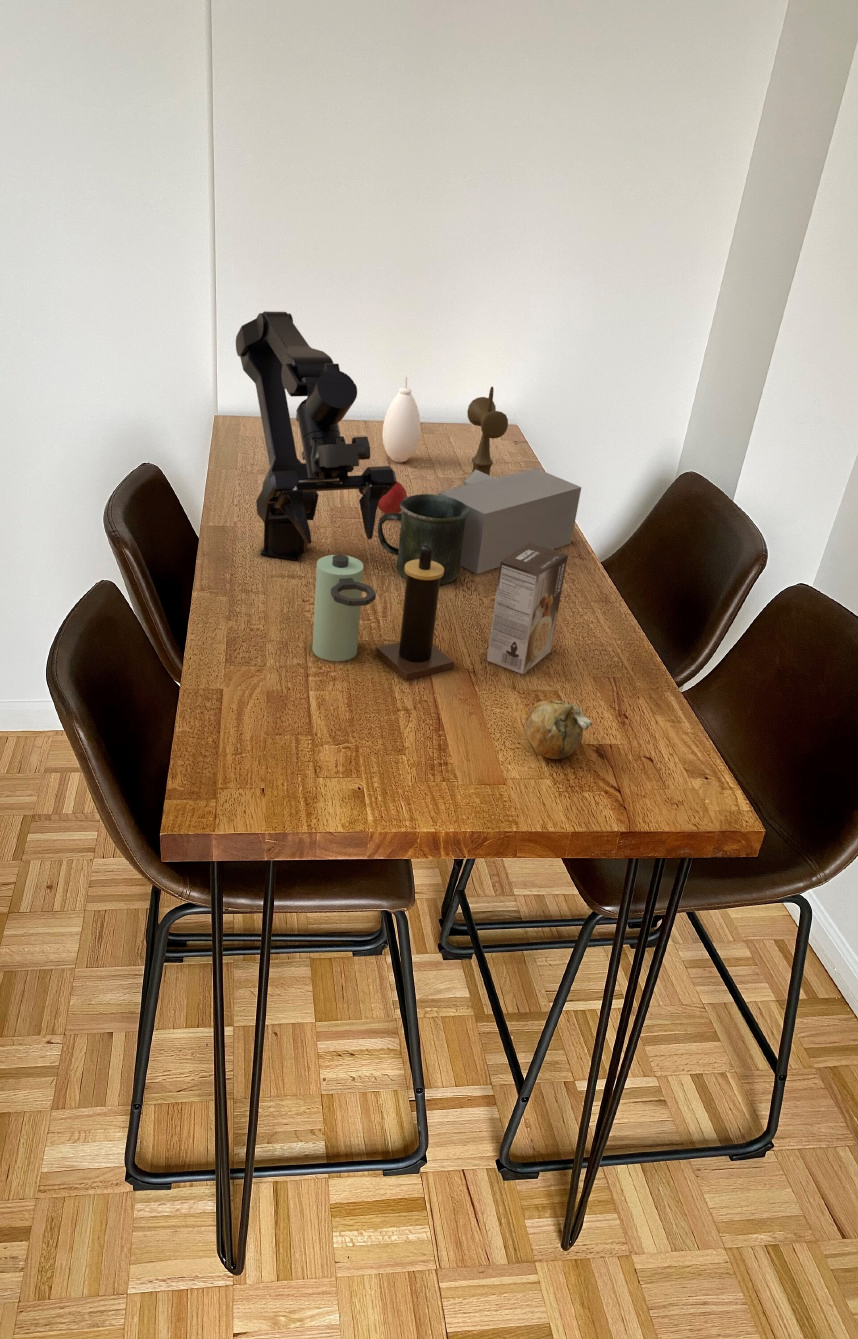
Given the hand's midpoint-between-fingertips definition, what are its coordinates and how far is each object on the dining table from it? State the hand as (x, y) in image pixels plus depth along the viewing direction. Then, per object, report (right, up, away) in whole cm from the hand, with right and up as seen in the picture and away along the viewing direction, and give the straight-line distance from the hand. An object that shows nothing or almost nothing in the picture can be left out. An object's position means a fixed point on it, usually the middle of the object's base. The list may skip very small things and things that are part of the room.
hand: (340, 541), depth 150 cm
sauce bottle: (+6, +26, +72) cm, 77 cm away
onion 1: (+5, +10, +45) cm, 46 cm away
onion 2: (+28, -29, -16) cm, 44 cm away
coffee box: (+26, -17, +4) cm, 31 cm away
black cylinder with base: (+11, -17, -1) cm, 20 cm away
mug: (+11, -2, +25) cm, 28 cm away
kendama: (+23, +20, +65) cm, 72 cm away
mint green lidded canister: (0, -17, -3) cm, 17 cm away
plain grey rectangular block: (+22, +6, +42) cm, 48 cm away
